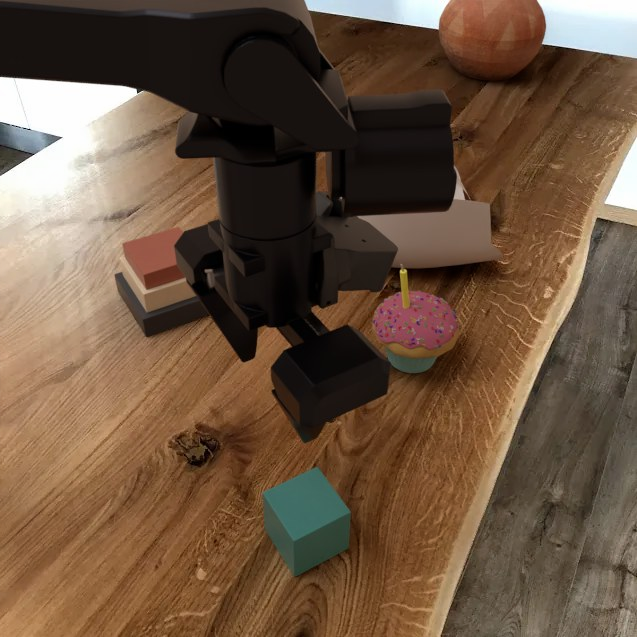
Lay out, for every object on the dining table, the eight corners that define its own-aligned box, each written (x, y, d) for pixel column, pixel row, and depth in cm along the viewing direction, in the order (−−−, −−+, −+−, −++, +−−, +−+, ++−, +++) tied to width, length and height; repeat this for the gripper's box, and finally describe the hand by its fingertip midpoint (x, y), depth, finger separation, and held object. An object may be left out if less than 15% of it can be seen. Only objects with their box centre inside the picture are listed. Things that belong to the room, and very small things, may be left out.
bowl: (317, 200, 98) (318, 118, 91) (456, 192, 100) (469, 111, 92) (339, 292, 83) (342, 203, 76) (502, 281, 85) (521, 192, 77)
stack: (146, 337, 77) (135, 285, 73) (117, 291, 83) (106, 240, 78) (223, 310, 81) (218, 258, 76) (191, 267, 87) (184, 217, 82)
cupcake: (379, 390, 72) (388, 295, 64) (362, 333, 78) (368, 240, 70) (463, 381, 73) (482, 286, 65) (439, 325, 79) (454, 233, 71)
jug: (423, 79, 129) (436, -42, 116) (446, 45, 142) (460, -69, 129) (528, 96, 125) (554, -30, 112) (542, 58, 137) (567, -58, 124)
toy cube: (294, 577, 56) (293, 541, 53) (264, 529, 60) (261, 492, 56) (349, 548, 58) (351, 511, 55) (317, 503, 62) (317, 465, 58)
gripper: (479, 251, 40) (446, 437, 50) (305, 120, 52) (307, 292, 62) (303, 320, 35) (306, 509, 46) (157, 160, 48) (185, 338, 58)
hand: (277, 397), depth 53 cm, fingers open, 9 cm apart
